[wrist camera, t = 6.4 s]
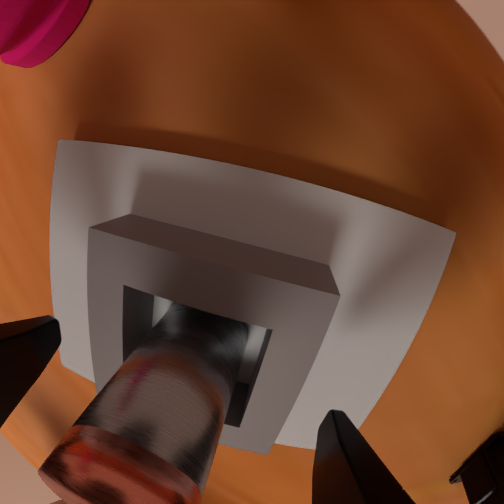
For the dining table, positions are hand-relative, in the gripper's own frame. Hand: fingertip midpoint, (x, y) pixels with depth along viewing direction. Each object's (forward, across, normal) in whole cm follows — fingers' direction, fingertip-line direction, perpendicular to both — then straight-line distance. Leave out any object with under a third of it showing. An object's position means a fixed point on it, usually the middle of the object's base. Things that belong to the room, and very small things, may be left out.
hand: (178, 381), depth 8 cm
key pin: (+3, 0, 0) cm, 3 cm away
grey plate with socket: (+4, 0, 0) cm, 4 cm away
